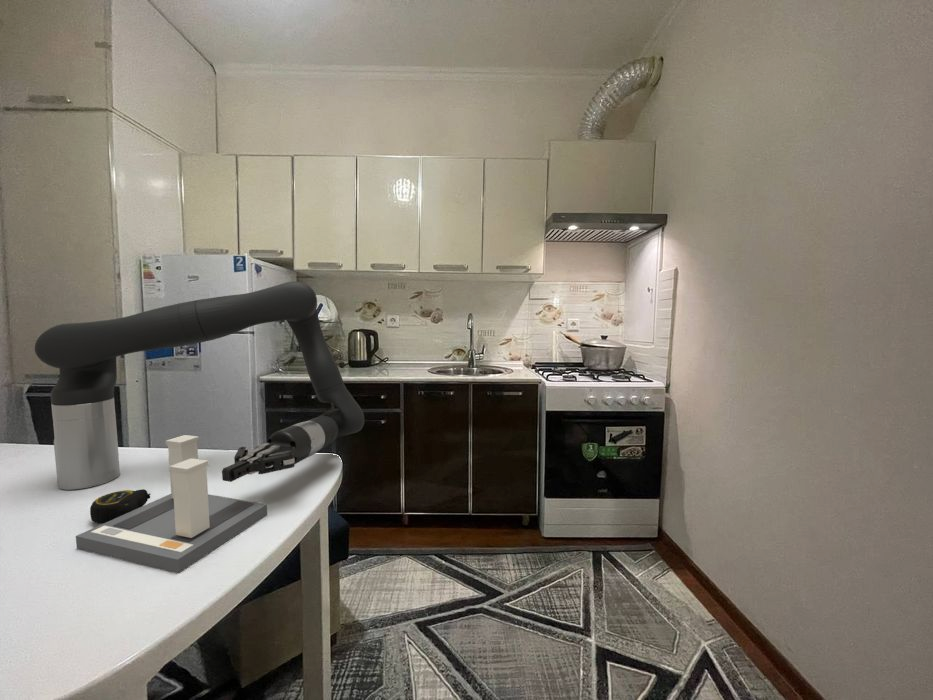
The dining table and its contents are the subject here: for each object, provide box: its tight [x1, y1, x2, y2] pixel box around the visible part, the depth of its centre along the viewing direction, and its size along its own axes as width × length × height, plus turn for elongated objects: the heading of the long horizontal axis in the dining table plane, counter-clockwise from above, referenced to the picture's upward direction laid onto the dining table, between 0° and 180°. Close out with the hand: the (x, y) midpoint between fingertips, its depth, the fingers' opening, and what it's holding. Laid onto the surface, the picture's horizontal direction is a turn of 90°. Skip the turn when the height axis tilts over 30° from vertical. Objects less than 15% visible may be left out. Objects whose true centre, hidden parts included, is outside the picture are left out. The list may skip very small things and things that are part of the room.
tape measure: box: [89, 488, 151, 525], centre depth 67 cm, size 7×7×4 cm
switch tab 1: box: [165, 434, 200, 499], centre depth 70 cm, size 3×3×11 cm
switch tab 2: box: [168, 458, 210, 538], centre depth 58 cm, size 3×3×11 cm
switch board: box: [75, 493, 268, 574], centre depth 63 cm, size 20×16×2 cm
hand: (225, 475), depth 64 cm, fingers closed
